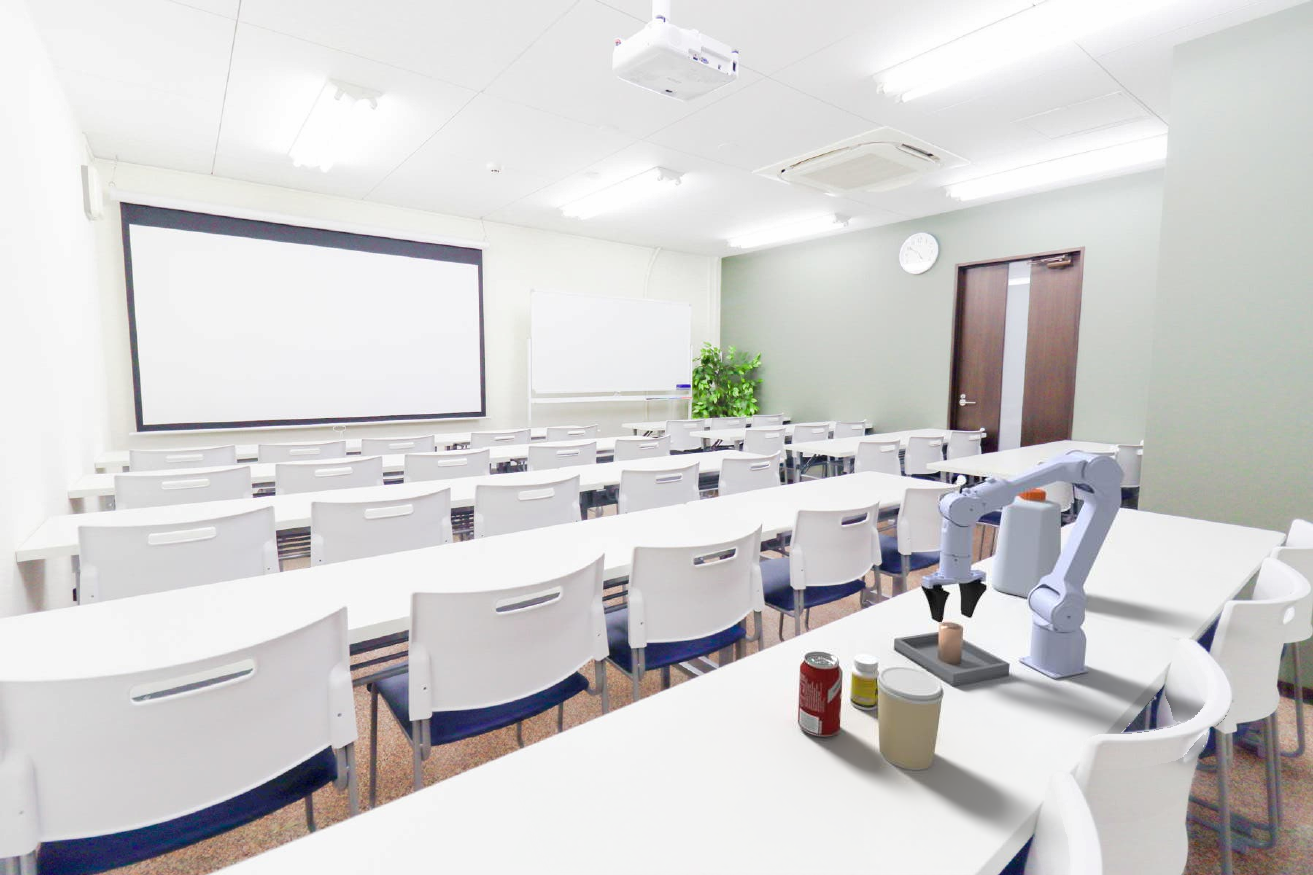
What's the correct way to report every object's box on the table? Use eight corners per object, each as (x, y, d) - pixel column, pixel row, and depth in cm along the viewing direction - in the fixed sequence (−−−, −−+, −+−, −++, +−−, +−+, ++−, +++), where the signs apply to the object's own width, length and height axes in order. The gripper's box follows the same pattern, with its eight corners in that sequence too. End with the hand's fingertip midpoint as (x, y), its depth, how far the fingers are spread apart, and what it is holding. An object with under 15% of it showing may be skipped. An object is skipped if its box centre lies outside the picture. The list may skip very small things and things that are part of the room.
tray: (945, 640, 133) (946, 630, 133) (1008, 675, 118) (1009, 663, 118) (893, 649, 128) (894, 638, 128) (952, 686, 113) (953, 674, 113)
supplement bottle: (879, 712, 104) (882, 666, 103) (851, 709, 105) (853, 663, 104) (875, 698, 109) (877, 654, 108) (848, 695, 110) (850, 651, 109)
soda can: (817, 744, 95) (820, 672, 94) (789, 722, 101) (791, 654, 100) (848, 733, 98) (852, 663, 97) (819, 712, 104) (822, 646, 103)
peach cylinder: (949, 653, 126) (951, 620, 125) (966, 662, 122) (968, 628, 121) (932, 655, 124) (934, 622, 124) (948, 665, 120) (950, 631, 120)
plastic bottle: (1063, 590, 166) (1071, 490, 163) (1051, 604, 155) (1060, 498, 152) (1001, 576, 176) (1008, 482, 173) (986, 589, 165) (994, 489, 162)
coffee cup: (915, 733, 98) (919, 663, 97) (952, 770, 89) (957, 694, 88) (862, 738, 97) (866, 667, 95) (894, 777, 87) (899, 699, 86)
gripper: (968, 544, 127) (964, 606, 128) (912, 550, 122) (908, 614, 124) (996, 554, 120) (991, 619, 122) (938, 560, 116) (934, 628, 117)
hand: (951, 618), depth 122 cm, fingers open, 7 cm apart
